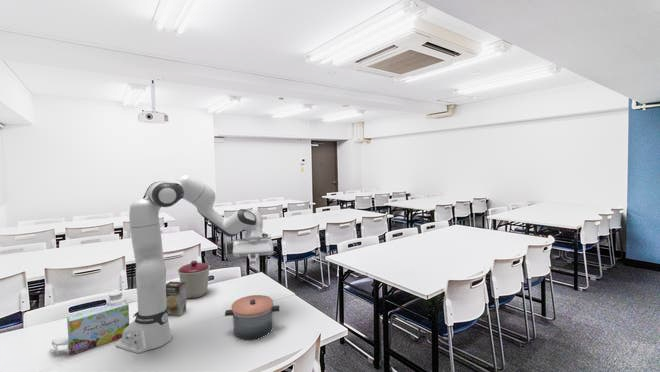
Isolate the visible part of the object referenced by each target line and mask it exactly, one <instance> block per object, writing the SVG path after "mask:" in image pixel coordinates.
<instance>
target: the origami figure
mask: <svg viewBox="0 0 660 372" xmlns="http://www.w3.org/2000/svg"><path fill="white" fill-rule="evenodd" d="M51 345H52V347H53V348H54V352H55V353H57V355H58V354H59V355H60V352H59V351H58V350H57V348H58V346H66V345H67V348H66V353H67V355H70V350H69V340H68V336H66V337H59V338H53V339H52V341H51Z"/></svg>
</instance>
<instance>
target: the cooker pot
mask: <svg viewBox="0 0 660 372" xmlns="http://www.w3.org/2000/svg"><path fill="white" fill-rule="evenodd" d="M274 312H275V313H276V312H280V305H273V307H272V308H271V309H270V310H269V311H267V312H265V313H263V314H260V315H255V316H239V315H236V314H234V313H233V312H232V309H227V310H225V312H224V316H225V317H229V316H231V317H232V323H233V335H234V337H235V338H237V339H238V338H239V339H238V340H241V339H243V341H254V339H255V340H258V338H259V339H262V338H264V337H263V336H265V335H266V336H268V335H269V334H270V333H271V332H272V331H271V330H273V329H272V328H273V324H274V323H273V322H274V320H273V313H274ZM268 333H269V334H268ZM267 334H268V335H267ZM266 336H265V337H266ZM261 337H262V338H261Z"/></svg>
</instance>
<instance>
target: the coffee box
mask: <svg viewBox="0 0 660 372" xmlns="http://www.w3.org/2000/svg"><path fill="white" fill-rule="evenodd" d="M166 300H167V306H168V317H170V316H172V317H181V316H182V315H184V314H185V313H186V312H187V298H186V282H180V281H168V282H166Z"/></svg>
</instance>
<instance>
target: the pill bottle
mask: <svg viewBox="0 0 660 372" xmlns="http://www.w3.org/2000/svg"><path fill="white" fill-rule="evenodd" d="M108 296H109V297H108V298H109V299H107V301H106V306H109V305H113V304H117V303H120V302H124V301H125V302H126V303H127V298H126V297H125V296H123V291H122V290H121V291H120V290H117V291H113V292H111V293H110V294H108Z"/></svg>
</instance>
